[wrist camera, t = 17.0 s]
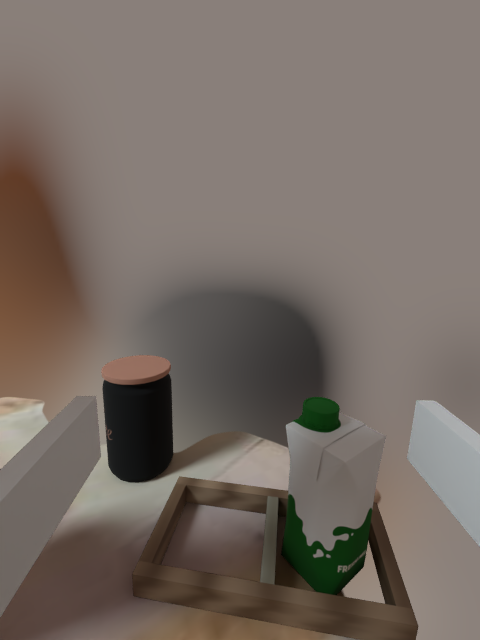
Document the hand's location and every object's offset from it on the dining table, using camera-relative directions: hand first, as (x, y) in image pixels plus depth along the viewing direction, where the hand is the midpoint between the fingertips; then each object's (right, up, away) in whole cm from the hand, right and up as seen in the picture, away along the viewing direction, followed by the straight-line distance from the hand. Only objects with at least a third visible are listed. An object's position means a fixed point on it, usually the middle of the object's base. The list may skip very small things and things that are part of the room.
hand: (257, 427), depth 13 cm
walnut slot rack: (+3, -25, +27) cm, 36 cm away
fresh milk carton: (+9, -25, +26) cm, 37 cm away
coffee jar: (-18, -21, +43) cm, 51 cm away
